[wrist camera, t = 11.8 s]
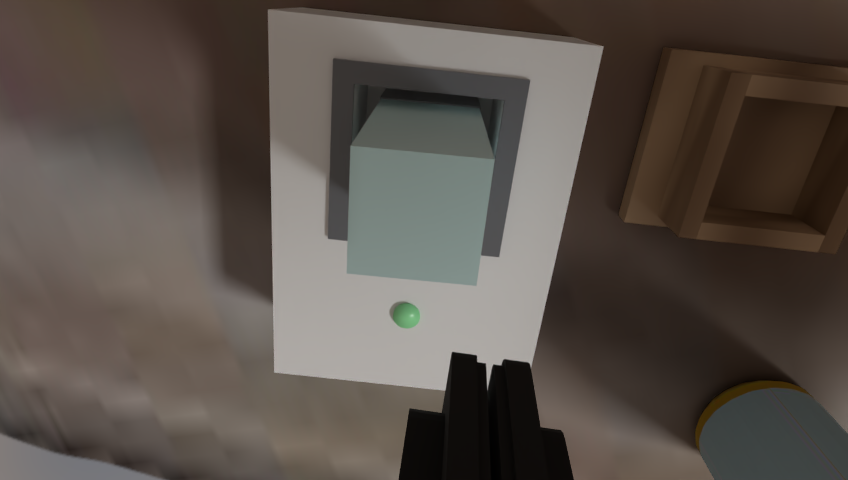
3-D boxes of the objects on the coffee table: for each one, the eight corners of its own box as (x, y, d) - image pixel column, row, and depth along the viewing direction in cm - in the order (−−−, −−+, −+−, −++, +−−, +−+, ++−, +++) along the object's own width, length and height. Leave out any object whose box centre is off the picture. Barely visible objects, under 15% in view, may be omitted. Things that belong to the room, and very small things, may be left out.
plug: (477, 96, 24) (496, 157, 15) (466, 184, 26) (477, 287, 16) (386, 88, 24) (348, 143, 15) (380, 176, 26) (344, 274, 16)
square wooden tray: (887, 71, 24) (956, 83, 21) (815, 236, 27) (864, 267, 24) (663, 47, 24) (697, 54, 21) (618, 214, 27) (641, 243, 24)
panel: (573, 37, 24) (605, 47, 19) (512, 338, 30) (524, 401, 26) (302, 7, 24) (265, 9, 19) (300, 315, 30) (273, 375, 25)
